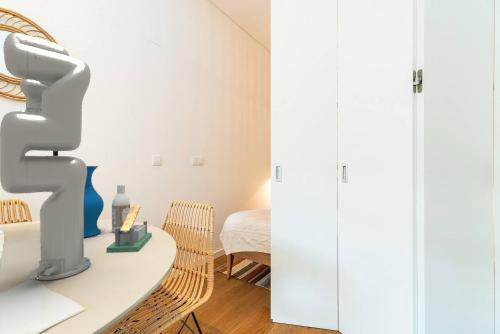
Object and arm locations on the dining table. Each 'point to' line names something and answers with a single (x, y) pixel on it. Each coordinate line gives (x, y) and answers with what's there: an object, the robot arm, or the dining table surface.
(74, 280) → the dining table surface
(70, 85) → the robot arm
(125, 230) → the tan wooden bar
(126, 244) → the grey and green block
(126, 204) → the bath foam
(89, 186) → the vase
